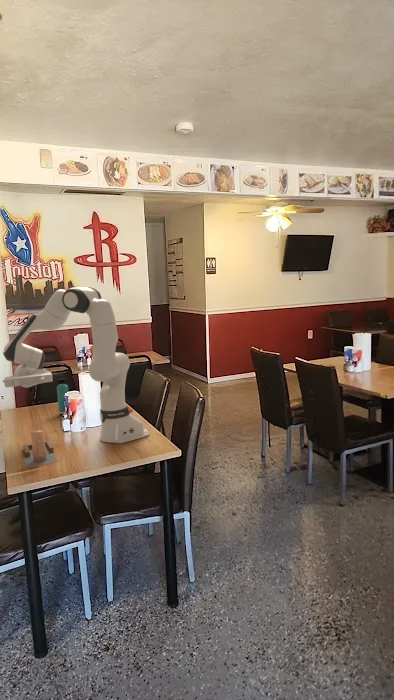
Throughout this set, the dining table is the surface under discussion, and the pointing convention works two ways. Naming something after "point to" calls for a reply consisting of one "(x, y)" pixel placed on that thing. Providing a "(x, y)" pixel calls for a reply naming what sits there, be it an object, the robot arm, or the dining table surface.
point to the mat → (49, 459)
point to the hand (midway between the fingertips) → (30, 382)
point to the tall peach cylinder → (38, 445)
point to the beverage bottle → (61, 394)
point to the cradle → (29, 450)
